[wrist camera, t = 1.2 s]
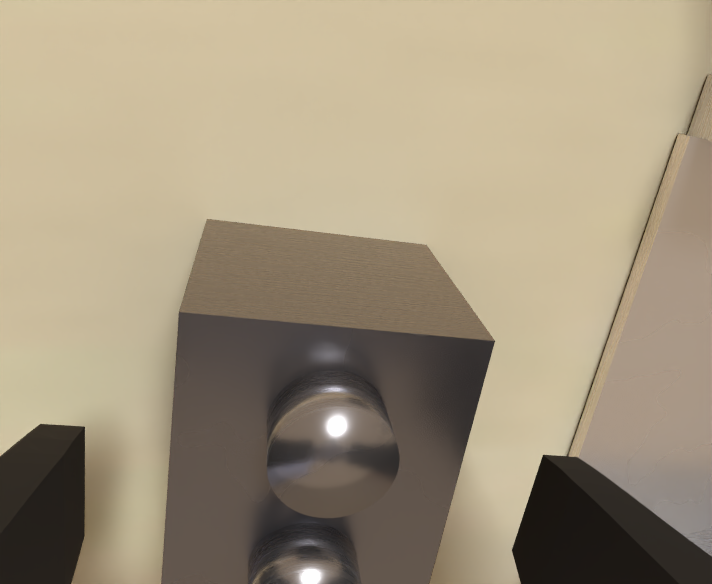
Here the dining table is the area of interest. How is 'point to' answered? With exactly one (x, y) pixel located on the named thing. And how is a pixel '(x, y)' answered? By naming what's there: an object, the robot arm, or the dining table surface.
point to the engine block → (317, 409)
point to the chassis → (663, 353)
